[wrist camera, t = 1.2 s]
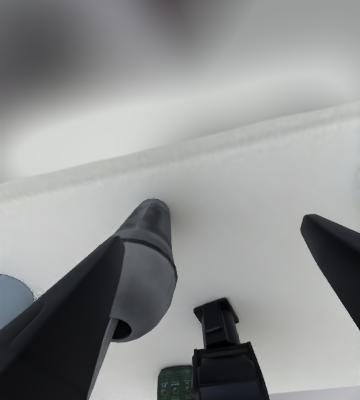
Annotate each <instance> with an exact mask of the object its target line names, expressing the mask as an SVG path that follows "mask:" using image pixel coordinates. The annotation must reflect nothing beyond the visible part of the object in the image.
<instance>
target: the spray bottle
mask: <svg viewBox="0 0 360 400" xmlns="http://www.w3.org/2000/svg"><path fill="white" fill-rule="evenodd" d="M33 300H34V299H33V294H32V292H31V291H30V289H29V288H28V287H27V286H26V285H25V284H24V283H22V282H21V281H19V280H17V279H15V278H13V277H10V276H7V275H0V329H2V328H3V327H4V326H5V325H7V324H8V323H9V322H10V321H12V320H13V319H14V318H15V317H17V316H18V315H19V314H20V313H22V312H23V311H24V310H25V309H26V308H28V307H29V306H30V305H31V304H32V303H33Z"/></svg>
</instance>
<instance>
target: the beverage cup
mask: <svg viewBox="0 0 360 400" xmlns="http://www.w3.org/2000/svg"><path fill="white" fill-rule="evenodd" d="M115 235H119V236H120V237H121V239H122V241H123V244H124V246H125V254H124V260H123V266H122V272H121V277H120V281H119V285H118V288H117V292H116V296H115V299H114V303H113V306H112V310H111V314H110V317H109V321H108V324H107V328H106V331H105V335H104V339H103V342H102V346H101V349H100V353H99V357H98V360H97V364H96V367H95V371H94V374H93V378H92V382H91V385H90V389H89V392H88V396H87V400H89V398H90V395H91V392H92V390H93V387H94V384H95V382H96V379H97V376H98V374H99V371H100V368H101V366H102V363H103V360H104V358H105V355H106V352H107V350H108V347H109V344H110V342H117V343H120V342H128V341H131V340H135V339H138V338H140V337H141V336H143V335H145V334H146V333H148V332H149V331H151V330H152V329H153V328H154V327H155V326H156V325H157V324H158V323H159V322H160V320H161V319H162V317H163V316H164V315H165V313H166V312H167V310H168V308H169V306H170V304H171V301H172V297H173V293H174V290H175V287H176V283H177V279H178V277H177V271H176V266H175V265H174V259H173V255H172V245H171V223H170V213H169V209H168V207H167V205H166V204H165V203H164V202H162V201H160V200H158V199H148V200H145V201H143V202H142V203H141V204H140V205H139V206H138V207H137V208H136V209H135V210H134V212H133V213H132V214H131V215H130V216H129V217H128V218H127V220H126V221H125V222H124V223H123V224H122V225H121V227H120V228H119V229H118V230H117V231H116V232H115V233H114V234H113V235H112V236H115ZM99 246H100V245H99ZM99 246H98V247H99ZM98 247H97V248H98Z"/></svg>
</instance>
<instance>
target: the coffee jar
mask: <svg viewBox="0 0 360 400" xmlns="http://www.w3.org/2000/svg"><path fill="white" fill-rule="evenodd" d="M192 373H193V367H190V366H187V367H186V366H185V367H175V368H168V369H164V370H162V371H161V372H160V374H159V376H158V387H157V400H195V398H194V397H193V396H192V394H191V382H192Z"/></svg>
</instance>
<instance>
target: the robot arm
mask: <svg viewBox="0 0 360 400" xmlns="http://www.w3.org/2000/svg"><path fill="white" fill-rule="evenodd" d="M300 231H301V234H302V236H303V238H304V240H305V242H306V244H307V246H308V248H309V250H310V252H311V254H312V256H313V258H314V260H315V261H316V263H317V265H318V266H319V268H320V270H321V271H322V273H323V274H324V276H325V277H326V279H327V280H328V282H329V284H330V285H331V287H332V288H333V290H334V291H335V293H336V294H337V296H338V297H339V299H340V301H341V302H342V304H343V305H344V307H345V308H346V310H347V311H348V313H349V314H350V316H351V318H352V319H353V321H354V322H355V324H356V325H357V327H358V328H359V330H360V233H358V232H356V231H353V230H351V229H349V228H346V227H344V226H342V225H340V224H337V223H335V222H333V221H330V220H328V219H326V218H323V217H321V216H319V215H316V214H309V215H305V216H304V217H303V220H302V224H301V228H300ZM124 254H125V246H124V244H123V241H122V239H121V237H120V236H119V235H115V236H110V237H109V238H108V239H107V240H106V241H105V242H103V243H102V244H101V245H100V246H99V247H98V248H96V249H95V250H94V251H93V252H92V253H91V254H89V255H88V256H87V257H86V258H85V259H84V260H82V261H81V262H80V263H79V264H78V265H77V266H75V267H74V268H73V269H72V270H71V271H70V272H69V273H67V274H66V275H65V276H64V277H63V278H62V279H60V280H59V281H58V282H57V283H56V284H55V285H53V286H52V287H51V288H50V289H49V290H48V291H47V292H46V293H44V294H43V295H42V296H41V297H39V298H38V299H37V300H36V301H35V302H34V303H32V304H31V305H30V306H29V307H28V308H26V309H25V310H24V311H23V312H22V313H20V314H19V315H18V316H17V317H15V318H14V319H13V320H12V321H10V322H9V323H8V324H7V325H5V326H4V327H3V328H2V329H0V400H87V396H88V392H89V389H90V385H91V382H92V378H93V374H94V371H95V367H96V364H97V360H98V357H99V353H100V349H101V346H102V342H103V339H104V335H105V331H106V328H107V324H108V321H109V317H110V314H111V310H112V306H113V303H114V299H115V296H116V292H117V288H118V285H119V281H120V277H121V272H122V266H123V260H124ZM194 314H195V315H196V317H197V318H198V319H199V321H200V322H201V324H202V332H203V341H204V349H194V355H193V357H192V364H193V373H192V382H191V394H192V396H193V397H194V398H195V400H270V399H269V395H268V391H267V388H266V385H265V381H264V378H263V375H262V372H261V369H260V367H259V364H258V361H257V358H256V356H255V353H254V350H253V348H252V345H251V342H247V343H242V344H241V343H240V340H239V336H238V333H237V329H236V325H235V324H236V323H238V322H239V319H238V317H237V316H236V314H235V312H234V310H233V308H232V307H231V305H230V303H229V301H228V300H227V299H226V298H224V299H221V300H218V301H215V302H212V303H209V304H206V305H203V306H201V307H198V308H195V309H194Z"/></svg>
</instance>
